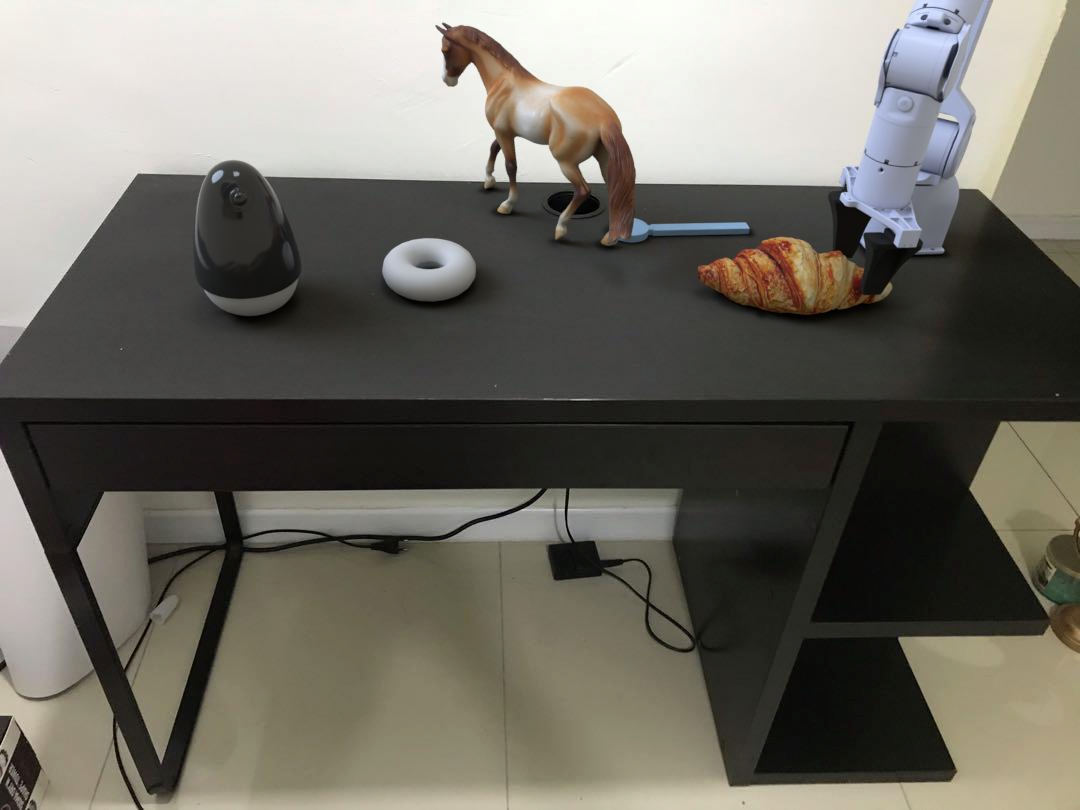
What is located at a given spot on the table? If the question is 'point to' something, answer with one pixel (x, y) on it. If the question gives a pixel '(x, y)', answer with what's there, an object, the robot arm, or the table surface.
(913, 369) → the table surface
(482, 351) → the table surface
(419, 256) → the donut
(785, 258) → the croissant
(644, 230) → the spoon
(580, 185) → the horse figurine
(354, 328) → the table surface
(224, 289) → the pump dispenser
